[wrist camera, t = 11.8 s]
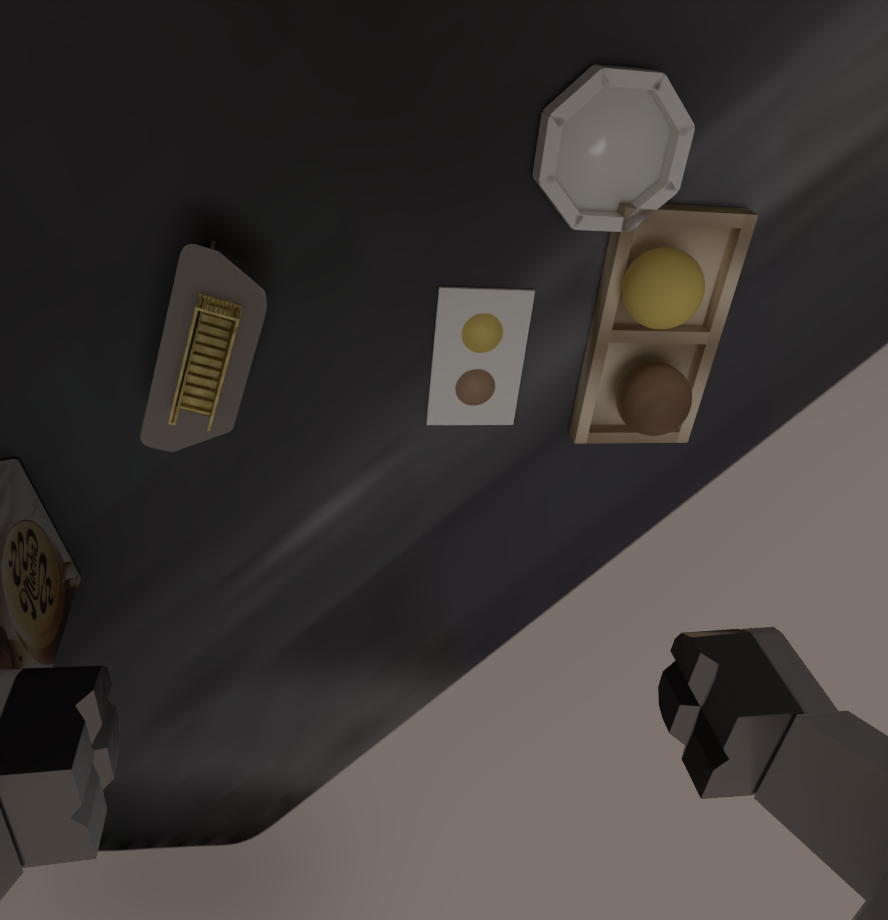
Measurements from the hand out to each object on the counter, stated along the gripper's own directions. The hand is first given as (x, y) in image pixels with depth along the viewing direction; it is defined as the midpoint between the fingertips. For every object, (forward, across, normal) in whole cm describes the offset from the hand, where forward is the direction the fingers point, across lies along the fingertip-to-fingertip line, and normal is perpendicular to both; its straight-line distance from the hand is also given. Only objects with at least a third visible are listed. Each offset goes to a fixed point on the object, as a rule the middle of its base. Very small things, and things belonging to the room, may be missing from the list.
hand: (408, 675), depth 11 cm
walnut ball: (+29, -18, +10) cm, 35 cm away
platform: (+30, +6, +7) cm, 31 cm away
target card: (+29, -8, +9) cm, 31 cm away
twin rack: (+29, -18, +7) cm, 35 cm away
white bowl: (+29, -13, -2) cm, 32 cm away
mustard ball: (+28, -17, +4) cm, 34 cm away
